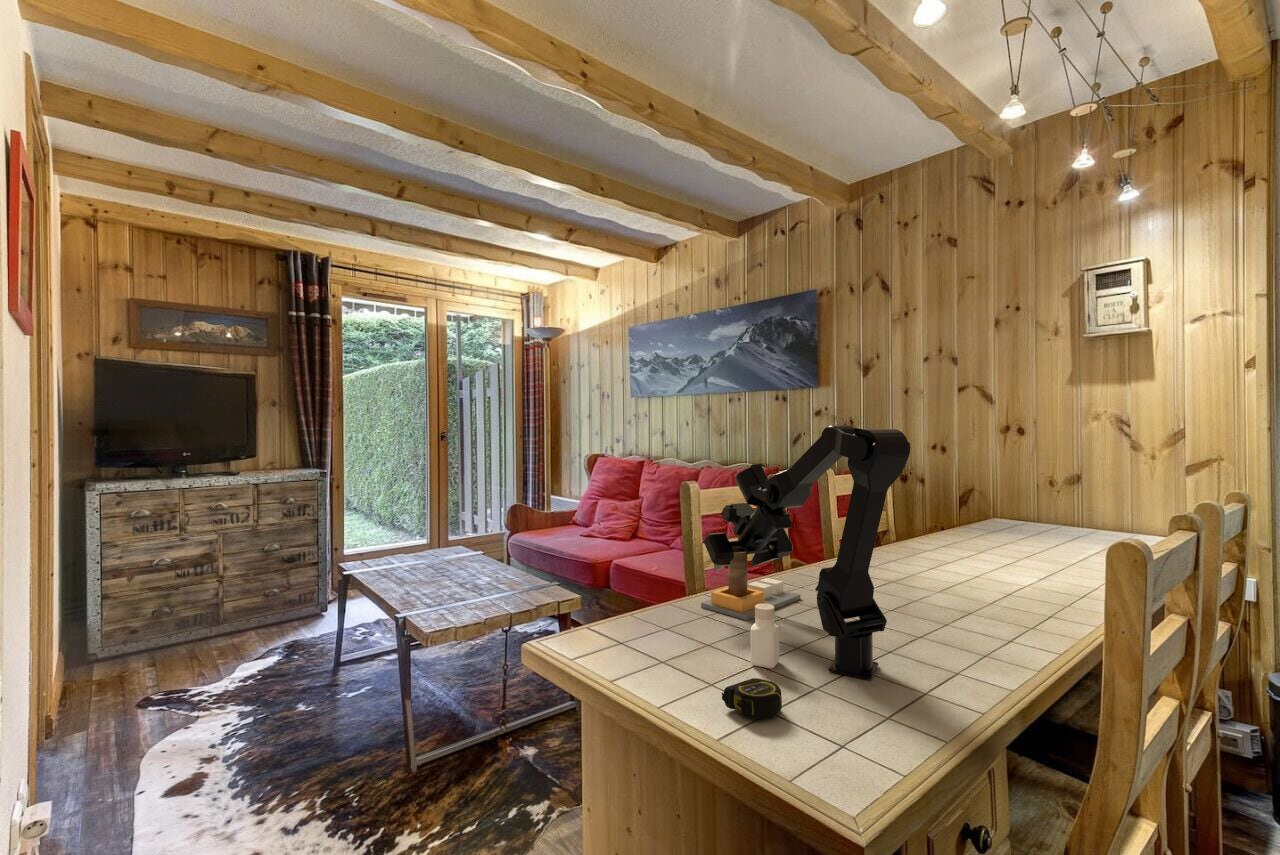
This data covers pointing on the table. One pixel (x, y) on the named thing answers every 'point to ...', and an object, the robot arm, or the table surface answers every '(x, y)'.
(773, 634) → the pepper shaker
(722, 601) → the multicoloured piece
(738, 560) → the peg
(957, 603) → the table surface
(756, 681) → the tape measure
